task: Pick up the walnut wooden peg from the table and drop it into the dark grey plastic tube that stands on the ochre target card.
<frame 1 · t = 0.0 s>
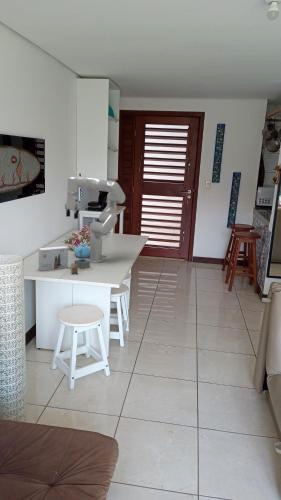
hand: (72, 217, 279), 37 cm above the table, tool pointing down, fingers open, 9 cm apart
peg: (74, 273, 269), on the table
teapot: (83, 256, 316), on the table
skincare box: (53, 269, 277), on the table
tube: (82, 267, 284), on the table
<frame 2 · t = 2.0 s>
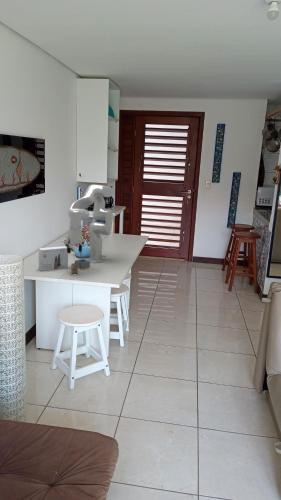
hand: (74, 252, 265), 16 cm above the table, tool pointing down, fingers open, 9 cm apart
nothing on the table moved.
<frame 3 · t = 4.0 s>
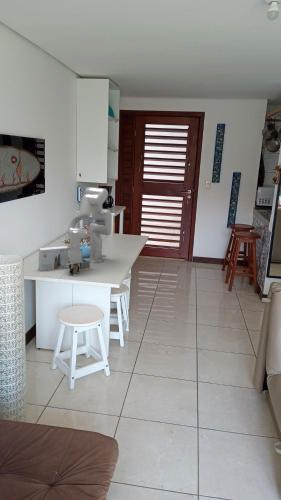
hand: (74, 272, 269), 1 cm above the table, tool pointing down, fingers closed on peg, 4 cm apart
peg: (74, 273, 269), on the table, touching gripper
everything else where it was.
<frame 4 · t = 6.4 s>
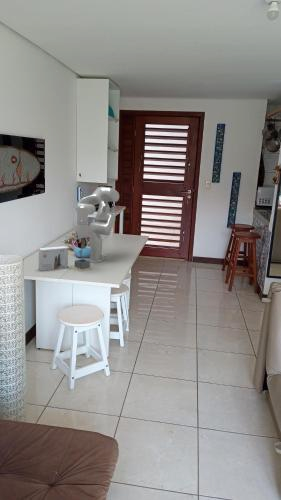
hand: (82, 246, 278), 17 cm above the table, tool pointing down, fingers closed on peg, 4 cm apart
peg: (82, 247, 278), point 16 cm above the table, touching gripper
everything else where it was.
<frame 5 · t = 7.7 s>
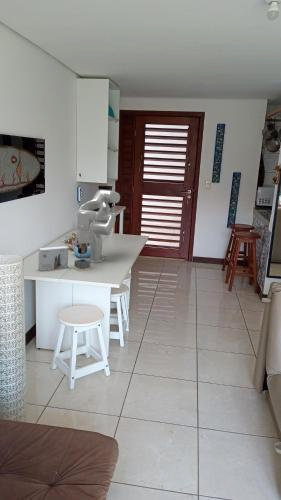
hand: (82, 252, 280), 12 cm above the table, tool pointing down, fingers closed on peg, 4 cm apart
peg: (82, 253, 281), point 11 cm above the table, touching gripper
everything else where it was.
when the fingers open (7 cm above the table, at t = 8.9 s): peg drops 6 cm, resting on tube.
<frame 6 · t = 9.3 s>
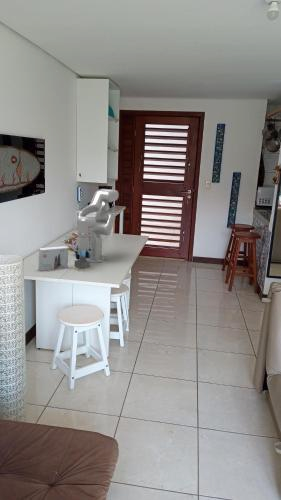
hand: (82, 258, 282), 7 cm above the table, tool pointing down, fingers open, 8 cm apart
peg: (82, 267, 284), resting on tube
everything else where it was.
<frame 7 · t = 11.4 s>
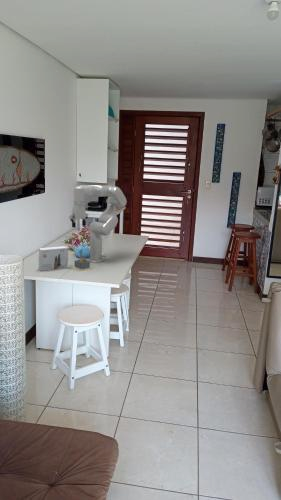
hand: (78, 226, 282), 30 cm above the table, tool pointing down, fingers open, 9 cm apart
nothing on the table moved.
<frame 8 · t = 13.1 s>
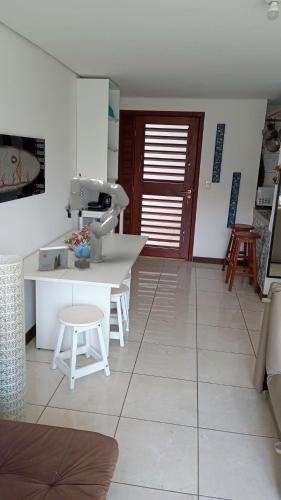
hand: (74, 217, 283), 36 cm above the table, tool pointing down, fingers open, 9 cm apart
nothing on the table moved.
at the end: peg 0.3 cm off-centre on the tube, point 0.4 cm above the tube's base; peg tilted 1°; the gripper is holding nothing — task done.
